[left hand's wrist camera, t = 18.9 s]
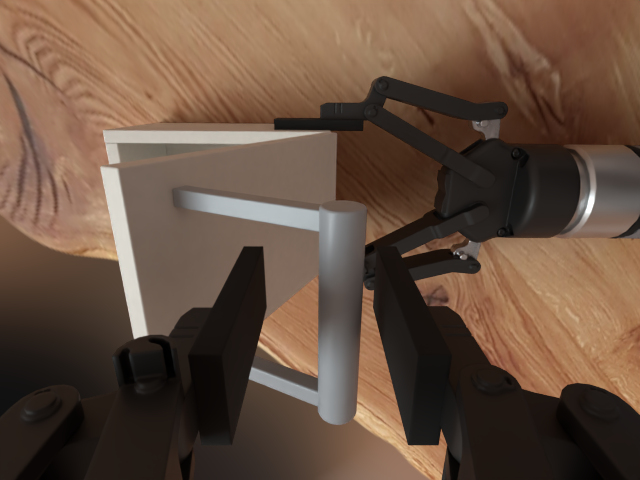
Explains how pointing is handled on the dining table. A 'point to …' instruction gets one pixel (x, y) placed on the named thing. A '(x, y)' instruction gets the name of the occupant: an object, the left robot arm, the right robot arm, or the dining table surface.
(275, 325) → the dining table surface
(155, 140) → the chest
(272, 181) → the lid
